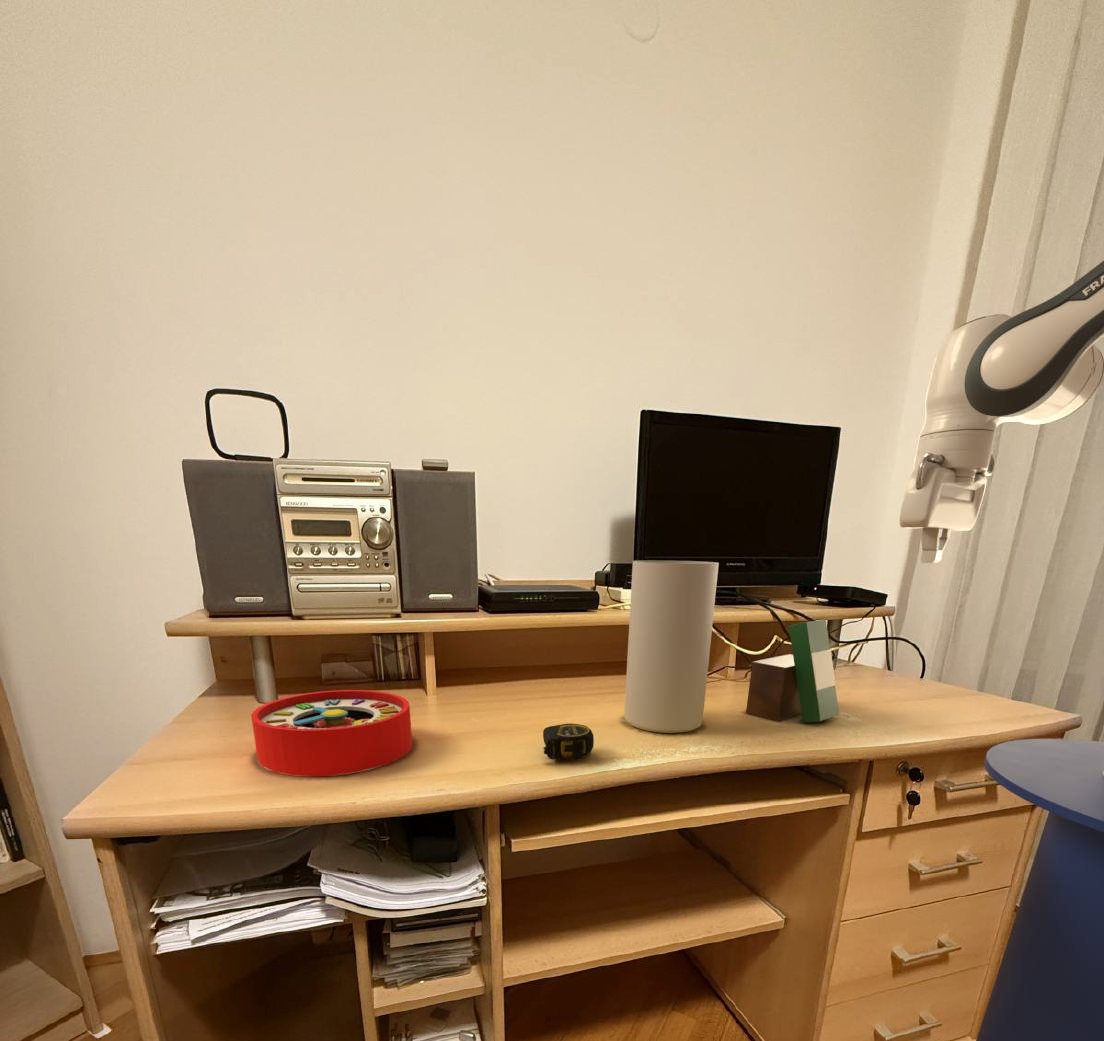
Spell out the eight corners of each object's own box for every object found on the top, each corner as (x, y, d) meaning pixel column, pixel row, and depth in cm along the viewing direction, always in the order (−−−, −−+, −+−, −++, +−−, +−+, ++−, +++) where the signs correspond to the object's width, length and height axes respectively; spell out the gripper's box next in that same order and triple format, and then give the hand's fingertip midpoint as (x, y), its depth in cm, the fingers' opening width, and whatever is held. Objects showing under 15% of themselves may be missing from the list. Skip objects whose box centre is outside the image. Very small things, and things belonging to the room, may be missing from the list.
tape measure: (542, 747, 82) (542, 721, 81) (590, 747, 83) (591, 721, 81) (543, 764, 76) (543, 737, 75) (595, 764, 76) (596, 737, 75)
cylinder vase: (608, 720, 95) (615, 560, 87) (657, 707, 103) (668, 560, 95) (668, 740, 86) (683, 564, 78) (717, 724, 94) (735, 563, 86)
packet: (831, 723, 99) (883, 660, 90) (812, 730, 95) (865, 664, 86) (772, 675, 105) (815, 612, 97) (752, 680, 101) (796, 614, 93)
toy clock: (440, 705, 80) (306, 742, 65) (441, 745, 82) (312, 790, 67) (353, 683, 92) (221, 710, 77) (356, 719, 94) (228, 751, 78)
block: (813, 709, 103) (821, 659, 100) (777, 721, 96) (785, 667, 93) (782, 702, 108) (789, 654, 105) (745, 713, 100) (752, 661, 98)
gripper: (952, 448, 72) (928, 564, 76) (999, 463, 85) (977, 562, 89) (897, 453, 77) (878, 563, 81) (949, 467, 89) (931, 561, 94)
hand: (930, 562), depth 85 cm, fingers closed
